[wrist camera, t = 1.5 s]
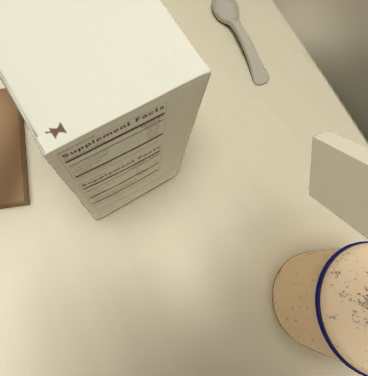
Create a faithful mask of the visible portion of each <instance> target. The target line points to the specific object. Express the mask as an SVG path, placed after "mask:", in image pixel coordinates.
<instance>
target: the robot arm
mask: <svg viewBox="0 0 368 376" xmlns="http://www.w3.org/2000/svg"><path fill="white" fill-rule="evenodd" d="M309 195H310V196H311V197H313V198H314V199H315V200H317V201H318V202H319V203H321V204H322V205H323V206H325V207H326V208H327V209H329V210H330V211H331V212H333V213H334V214H335V215H337V216H338V217H339V218H341V219H342V220H343V221H345V222H346V223H347V224H349V225H350V226H351V227H353V228H354V229H355V230H357V231H358V232H359V233H361V234H362V235H363V236H365V237H366V238H367V239H368V149H366V148H364V147H362V146H360V145H358V144H356V143H353V142H351V141H349V140H347V139H345V138H343V137H341V136H339V135H336V134H334V133H332V132H330V131H328V132H325V133H322V134H319V135H316V136H313V139H312V154H311V170H310V185H309Z"/></svg>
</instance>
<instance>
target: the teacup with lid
mask: <svg viewBox="0 0 368 376" xmlns="http://www.w3.org/2000/svg"><path fill="white" fill-rule="evenodd" d="M273 304H274V309H275V312H276V315H277V318H278V320H279V322H280V324H281V325H282V327H283V329H284V330H285V331H286V332H287V333H288V334H289V335H290V336H291V337H292V338H293V339H294V340H295V341H297V342H298V343H300V344H302V345H304V346H306V347H308V348H311V349H313V350H315V351H318V352H320V353H322V354H324V355H327V356H329V357H331V358H334V359H336V360H338V361H341V362H343V363H344V364H345V365H346V366H348V367H349V368H351V369H352V370H354V371H355V372H357V373H359V374H361V375H363V376H368V241H365V242H357V243H353V244H350V245H347V246H345V247H343V248H336V249H329V250H321V251H313V252H306V253H302V254H299V255H297V256H295V257H293V258H291V259H290V260H289V261H287V262H286V263H285V264H284V265H283V267H282V268H281V269H280V271H279V273H278V275H277V277H276V280H275V283H274V288H273Z"/></svg>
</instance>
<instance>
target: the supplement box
mask: <svg viewBox="0 0 368 376" xmlns="http://www.w3.org/2000/svg"><path fill="white" fill-rule="evenodd" d="M210 75H211V70H210V68H209V67H208V66H207V64H206V63H205V61H204V60H203V59H202V57H201V56H200V54H199V53H198V52H197V50H196V49H195V48H194V46H193V45H192V43H191V42H190V41H189V39H188V38H187V36H186V35H185V34H184V32H183V31H182V30H181V28H180V27H179V25H178V24H177V23H176V21H175V20H174V18H173V17H172V16H171V14H170V13H169V11H168V10H167V9H166V7H165V6H164V4H163V3H162V2H161V0H0V79H1V81H2V82H3V84H4V86H5V88H6V89H7V91H8V93H9V95H10V96H11V98H12V100H13V102H14V103H15V105H16V107H17V108H18V110H19V112H20V114H21V115H22V117H23V119H24V121H25V122H26V124H27V126H28V128H29V129H30V131H31V133H32V135H33V137H34V139H35V141H36V143H37V144H38V146H39V148H40V151H41V153H42V155H43V156H44V157H45V159H46V160H47V161H48V163H49V164H50V165H51V166H52V167H53V169H54V170H55V171H56V172H57V174H58V175H59V176H60V177H61V179H62V180H63V181H64V182H65V183H66V184H67V186H68V187H69V188H70V189H71V190H72V191H73V193H74V194H75V195H76V196H77V198H78V199H79V200H80V201H81V203H82V204H83V205H84V207H85V208H86V209H87V210H88V212H89V213H90V214H91V215H92V216H93V218H94V219H95V220H98V219H101V218H102V217H104V216H106V215H108V214H109V213H111V212H113V211H115V210H116V209H118V208H120V207H122V206H123V205H125V204H127V203H129V202H130V201H132V200H134V199H136V198H137V197H139V196H141V195H142V194H144V193H146V192H148V191H149V190H151V189H153V188H155V187H156V186H158V185H160V184H161V183H163V182H165V181H167V180H168V179H170V178H172V177H173V176H175V175H177V173H178V170H179V167H180V164H181V161H182V158H183V155H184V152H185V149H186V146H187V143H188V140H189V137H190V134H191V131H192V128H193V125H194V122H195V119H196V116H197V113H198V110H199V107H200V104H201V101H202V98H203V95H204V92H205V89H206V87H207V84H208V81H209V78H210Z"/></svg>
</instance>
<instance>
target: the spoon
mask: <svg viewBox="0 0 368 376" xmlns="http://www.w3.org/2000/svg"><path fill="white" fill-rule="evenodd" d="M212 10H213V13H214V15H215V16H216V18H217V19H218V20H219V21H220V22H222V23H224V24H227V25H229V26H230V27H231V28H232V29H233V31H234V32H235V34H236V36H237V37H238V39H239V41H240V44H241V46H242V48H243V50H244V53H245V56H246V59H247V62H248V65H249V69H250V73H251V77H252V80H253V82H254V84H255V85H257V86H259V85H263V84H265V83H267V82H268V81H269V75H268V73H267V71H266V69H265V67H264V65H263V64H262V62H261V60H260V58H259V56H258V54H257V52H256V49H255V47H254V45H253V43H252V41H251V40H250V38H249V36H248V34H247V33H246V31H245V30H244V28H243V26H242V25H241V23H240V21H239V7H238V4H237V2H236V1H235V0H212Z"/></svg>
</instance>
